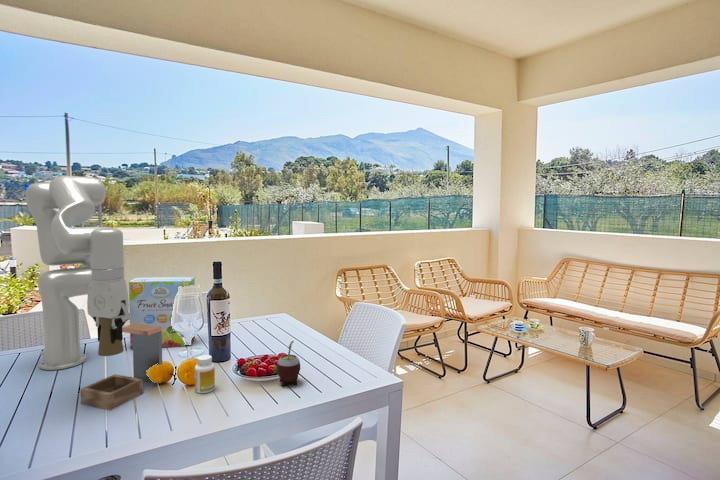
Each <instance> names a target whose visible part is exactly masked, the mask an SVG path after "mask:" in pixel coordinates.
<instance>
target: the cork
mask: <svg viewBox="0 0 720 480" xmlns="http://www.w3.org/2000/svg"><path fill="white" fill-rule="evenodd" d="M118 316H119V315H118ZM119 319H120V318H118V319H116V322H117V321H118V320H119ZM111 323H112V319H107V318H99V324H100V325H101V332H100V341H98V350H97V355H98V356H100V357H110V356H115V355H119V354H121V353H123V352H124V351H125V350H124V345H123V340H122V341H120V340H116V339H115V343H114V344H112V343H111V334H110V329H113V328H112V324H111Z"/></svg>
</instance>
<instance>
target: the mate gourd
mask: <svg viewBox="0 0 720 480" xmlns="http://www.w3.org/2000/svg"><path fill="white" fill-rule="evenodd" d="M294 342H295V340H292V341H291V342H290V343H289V345H288V352H287V354H283V355H281V356H280V357H279V359H278V360H277V362H276V372H277V375H278V377H279V382H281V383H282V384H281V388H285V387H286V386H287V385H291V386H292V385H293V386H298V382H297V381H298V380H299V379H298V378H299V374H300V370H301V362H300V359H299V357H298V356H297V355H295V354H291V351H292V350H291V349H292V345H293V343H294Z"/></svg>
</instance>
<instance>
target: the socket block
mask: <svg viewBox="0 0 720 480" xmlns="http://www.w3.org/2000/svg"><path fill="white" fill-rule="evenodd" d="M79 390H80V391H79V393H80V394H79V395H80V404H81V405H84V406H88V407H93V408H98V409H103V410H108V411H112V410H114V409H116V408H118V407H120V406H122V405H123V404H125V403H127V402H129V401H131V400H134V399H135V398H137V397H138V396H140V395H143V394H144V381H143V379H138V378H134V377H131V376H127V375H122V374H121V375H120V374H117V373H115V374H112V375H110V376H107V377H106V378H103V379H100V380H99V381H96V382H94V383H91V384H89V385H87V386H84V387H83V388H80V389H79Z"/></svg>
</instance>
